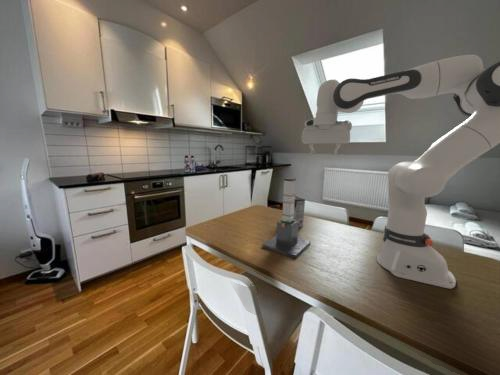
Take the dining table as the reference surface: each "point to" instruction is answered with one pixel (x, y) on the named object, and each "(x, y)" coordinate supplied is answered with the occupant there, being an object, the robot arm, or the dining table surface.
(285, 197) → the column
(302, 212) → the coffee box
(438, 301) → the dining table surface
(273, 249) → the stand base
